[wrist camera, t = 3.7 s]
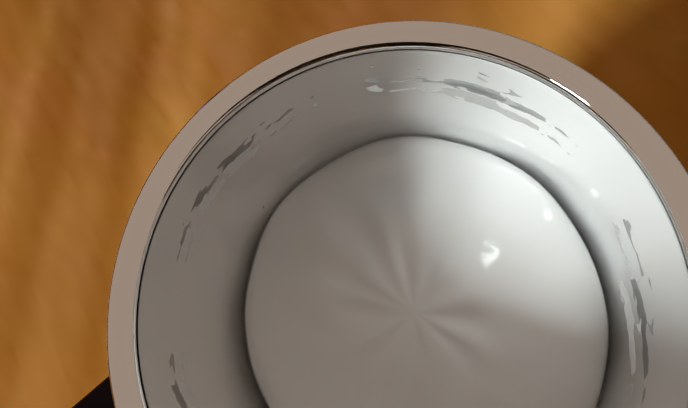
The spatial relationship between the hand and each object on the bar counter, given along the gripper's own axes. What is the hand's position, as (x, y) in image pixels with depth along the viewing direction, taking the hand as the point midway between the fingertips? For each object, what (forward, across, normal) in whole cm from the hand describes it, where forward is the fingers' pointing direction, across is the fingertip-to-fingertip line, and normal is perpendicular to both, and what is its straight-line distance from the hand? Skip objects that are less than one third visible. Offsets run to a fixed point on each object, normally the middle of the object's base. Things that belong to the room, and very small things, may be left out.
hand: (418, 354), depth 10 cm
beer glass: (+8, 0, +7) cm, 11 cm away
